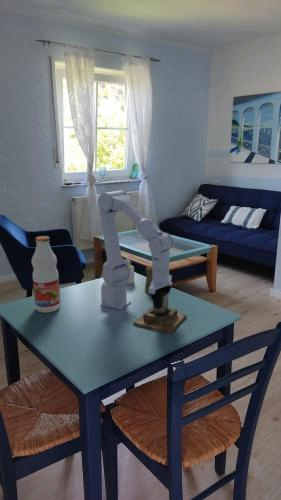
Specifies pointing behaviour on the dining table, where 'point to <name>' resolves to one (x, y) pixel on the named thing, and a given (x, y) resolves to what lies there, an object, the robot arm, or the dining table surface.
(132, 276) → the eye dropper bottle
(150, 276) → the cork
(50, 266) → the fruit juice
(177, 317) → the socket holder
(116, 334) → the dining table surface
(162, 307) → the metal pin
